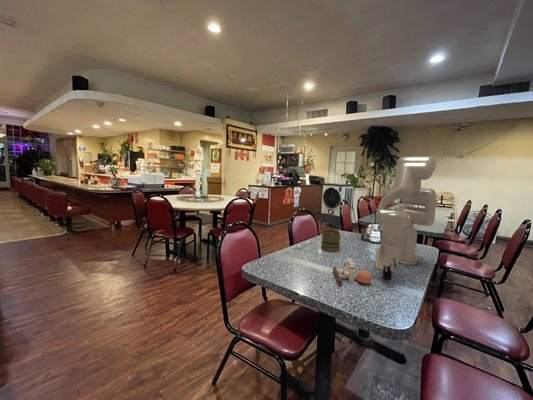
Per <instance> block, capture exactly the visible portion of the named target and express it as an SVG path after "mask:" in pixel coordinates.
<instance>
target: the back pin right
mask: <svg viewBox="0 0 533 400" xmlns="http://www.w3.org/2000/svg"><path fill="white" fill-rule="evenodd" d="M350 262H353V258H352V257H351V258H350V257H347V259H346V270H345V271H347V272H349V266H350ZM345 278H346V279H349V277H347V276H345Z"/></svg>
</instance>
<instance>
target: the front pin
mask: <svg viewBox="0 0 533 400" xmlns="http://www.w3.org/2000/svg"><path fill="white" fill-rule="evenodd" d="M337 273H339V275H340V276H344V277H346V276H347V277H349V272H347V271H346V270H344V269H341V268H337ZM354 281H358V278H357V274H355V273H354Z"/></svg>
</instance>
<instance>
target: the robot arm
mask: <svg viewBox="0 0 533 400" xmlns="http://www.w3.org/2000/svg"><path fill="white" fill-rule="evenodd" d="M396 165H397V167H396V173H395V178H394V181H393V182H394V183H393V187H392V189H391V190H390V191H389V192H387V193H386V194H385V195H383V197H382V198H381V200H380V201H379V202H378V205H377V206H378V207H377V211H376V215H375V219H376V222H377V223H378V224H379V225H382V227H381V236H380V237H381V239H380V246H379V247H380V251H379V261H380V262H381V263H382V264H383V270H382V279H383V280H384V281H392V275H393V272H395V268H397V267H398V265H399V263H400V264H401V265H402V264H403V265H409V266H414V265H417V264H418V260H419V261H421V260H422V261H424V260H425V257H424V256H423V255H422V256H421V255H418V254H416V250H417V248H416V247H417V241H418V240H417V238H418V230H417V228H416V227H415V226H414V225H418V226H424V227H425V226H426V227H431V226H433V224H434V223H435V217H436V209H437V208H436V207H437V192H436V190H434V189H432V188H425V187H424V188H423V187H421V186H422V185H421V184H422V181H423V180H429V179H430V178H432V176H433V174H434V172H435V170H436V166H437V159H436V158H435V157H434V156H429V155H428V156H426V155H424V156H422V155H421V156H416V155H415V156H402V157H399V158H398V159H397V163H396ZM399 199H401V200H402V202H403V203H404V204H405V205H409V206H401V207H399V209H398V210H396V209H395V210H394V209H387V206H388V205H389V204H390V203H391V202H394V201H396V200H399ZM417 206H420V207H417ZM423 207H424V208H423Z"/></svg>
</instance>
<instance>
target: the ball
mask: <svg viewBox="0 0 533 400" xmlns="http://www.w3.org/2000/svg"><path fill="white" fill-rule="evenodd" d="M356 275H357V278H358V279H357V281H359V283H361V284H364V285H365V284H366V285H367V284H369V283H370V282H371V281H372V279H373V278H372V277H373V276H372V274H371V272H370V271H369V270H366V269H361V270H359V271H358V272H357V274H356Z"/></svg>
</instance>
